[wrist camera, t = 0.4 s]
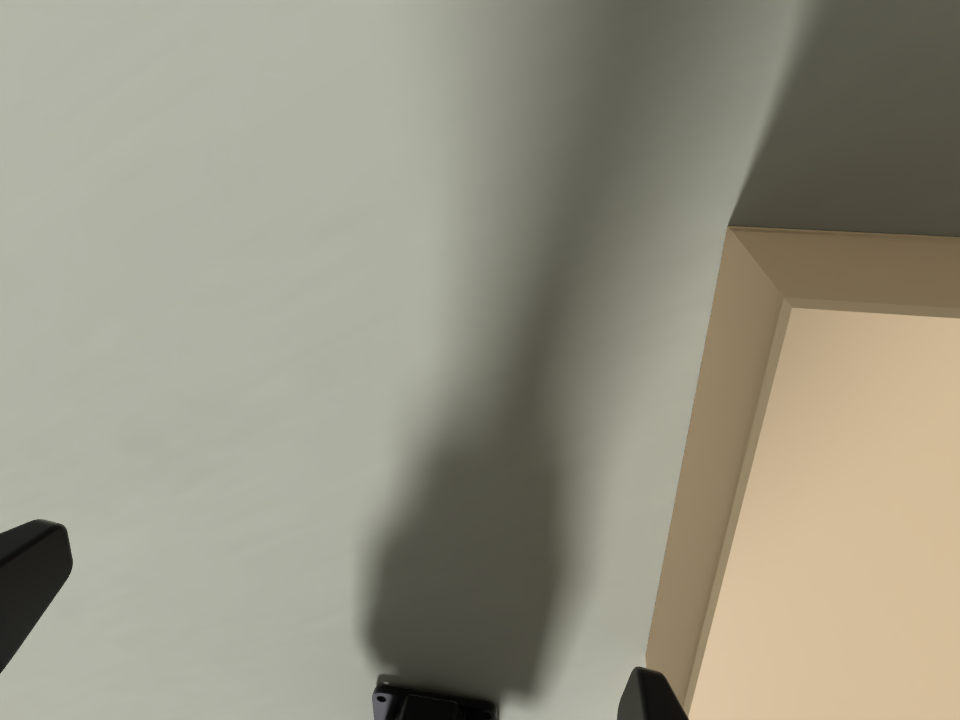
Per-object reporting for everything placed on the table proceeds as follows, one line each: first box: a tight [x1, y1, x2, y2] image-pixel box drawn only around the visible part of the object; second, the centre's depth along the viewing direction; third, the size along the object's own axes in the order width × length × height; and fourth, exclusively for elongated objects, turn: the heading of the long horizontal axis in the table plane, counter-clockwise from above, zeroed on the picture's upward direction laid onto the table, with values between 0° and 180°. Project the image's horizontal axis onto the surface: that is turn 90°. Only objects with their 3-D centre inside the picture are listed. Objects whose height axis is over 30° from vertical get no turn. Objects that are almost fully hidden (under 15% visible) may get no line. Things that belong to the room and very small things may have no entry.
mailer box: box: [646, 226, 960, 707], centre depth 20 cm, size 20×16×7 cm
